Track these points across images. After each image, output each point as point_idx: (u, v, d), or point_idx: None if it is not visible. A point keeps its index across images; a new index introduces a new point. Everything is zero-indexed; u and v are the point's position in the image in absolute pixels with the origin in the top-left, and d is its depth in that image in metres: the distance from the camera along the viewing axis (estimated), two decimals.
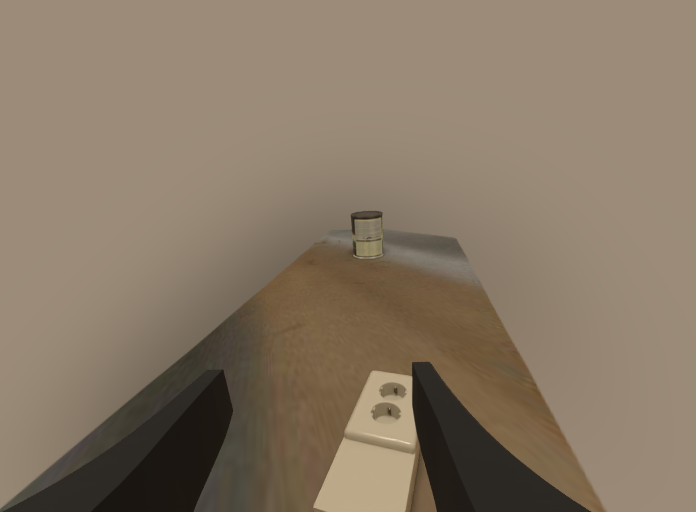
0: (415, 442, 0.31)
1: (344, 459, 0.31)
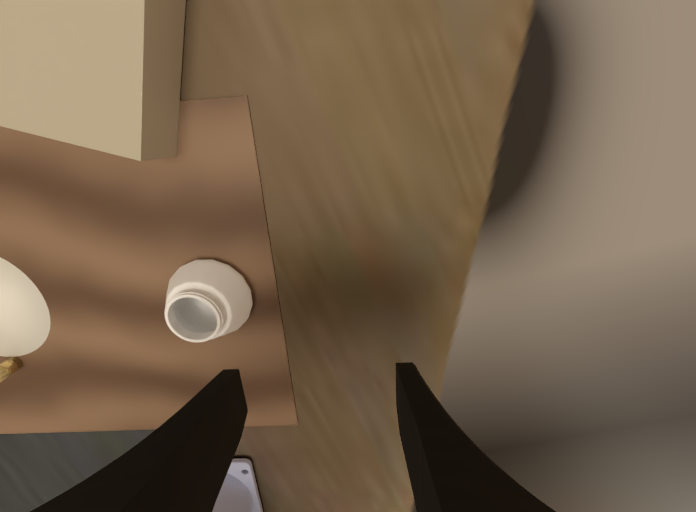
0: None
1: None
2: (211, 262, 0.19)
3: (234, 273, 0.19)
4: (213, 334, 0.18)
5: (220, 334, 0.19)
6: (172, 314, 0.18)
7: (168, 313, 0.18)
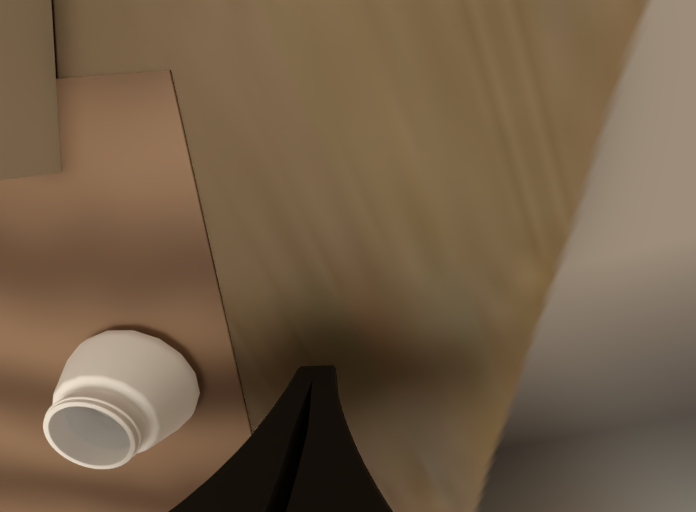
0: None
1: None
2: (129, 336, 0.12)
3: (167, 352, 0.12)
4: (126, 458, 0.11)
5: (143, 449, 0.12)
6: (61, 425, 0.11)
7: (50, 427, 0.11)
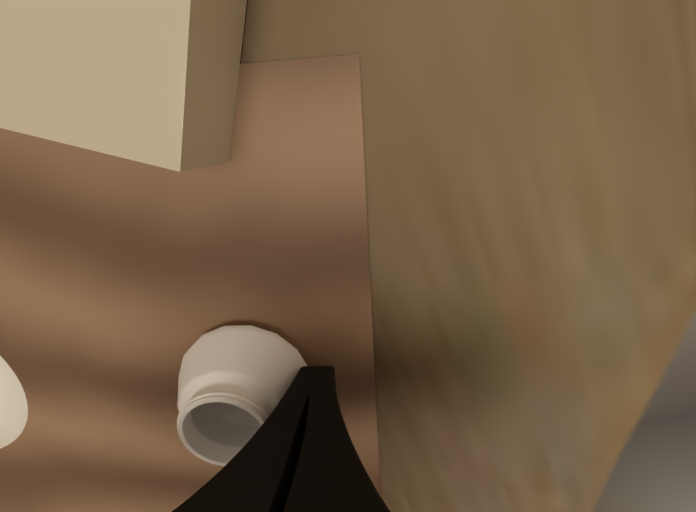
0: None
1: None
2: (250, 331, 0.12)
3: (286, 347, 0.12)
4: None
5: None
6: (189, 421, 0.11)
7: (183, 424, 0.11)
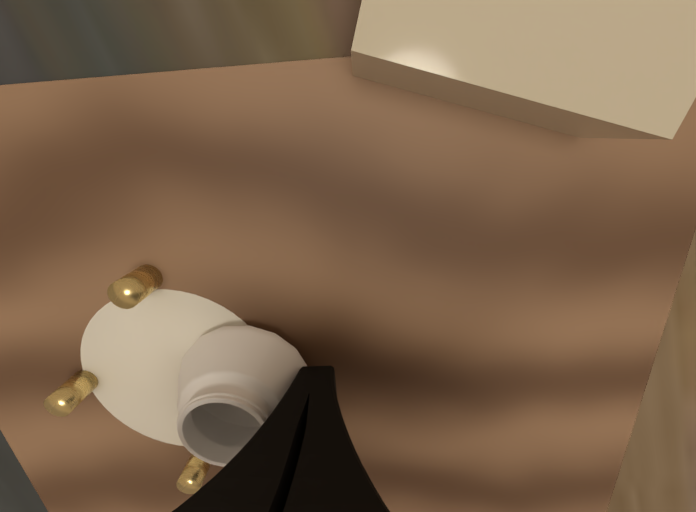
0: None
1: None
2: (248, 332, 0.12)
3: (285, 347, 0.12)
4: None
5: None
6: (189, 423, 0.11)
7: (183, 425, 0.11)
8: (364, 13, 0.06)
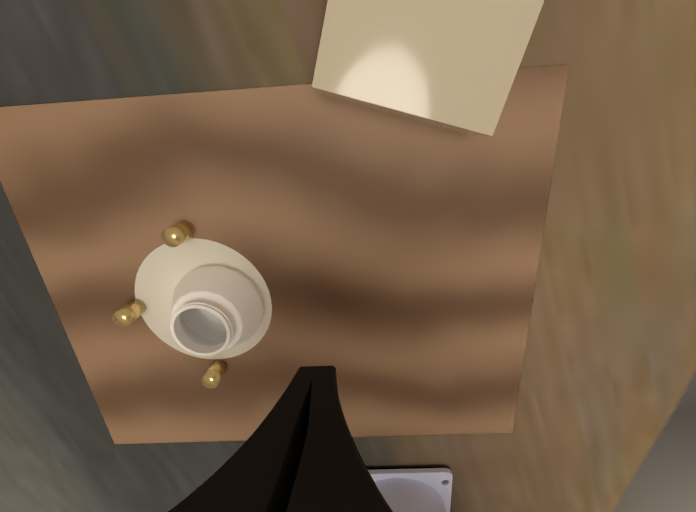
0: None
1: None
2: (218, 269, 0.18)
3: (243, 279, 0.18)
4: (223, 346, 0.17)
5: (230, 346, 0.18)
6: (178, 326, 0.17)
7: (174, 326, 0.17)
8: (318, 67, 0.12)
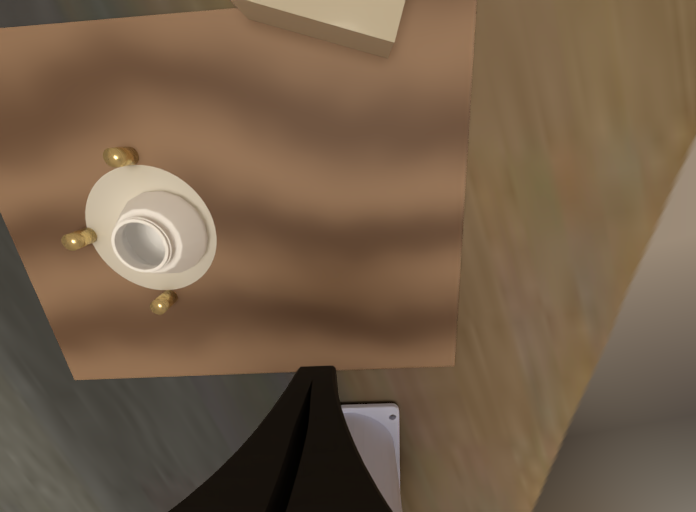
0: None
1: None
2: (160, 192, 0.19)
3: (184, 203, 0.19)
4: (162, 262, 0.18)
5: (172, 265, 0.19)
6: (121, 244, 0.18)
7: (115, 241, 0.17)
8: None
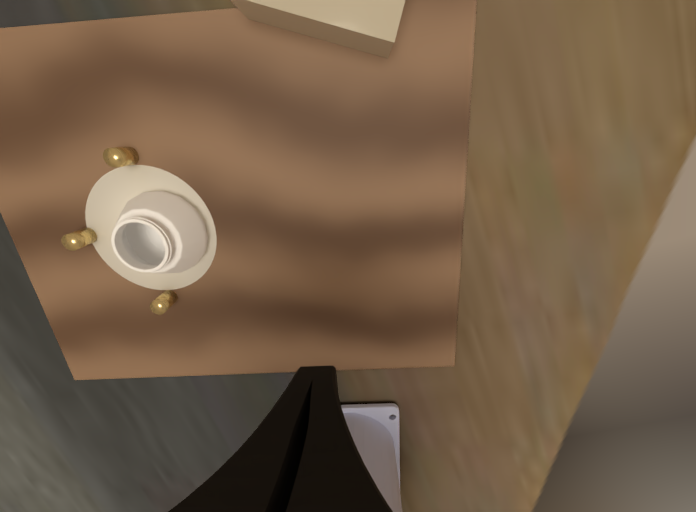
0: None
1: None
2: (160, 192, 0.19)
3: (184, 203, 0.19)
4: (163, 262, 0.18)
5: (172, 265, 0.19)
6: (121, 244, 0.18)
7: (115, 241, 0.17)
8: None
